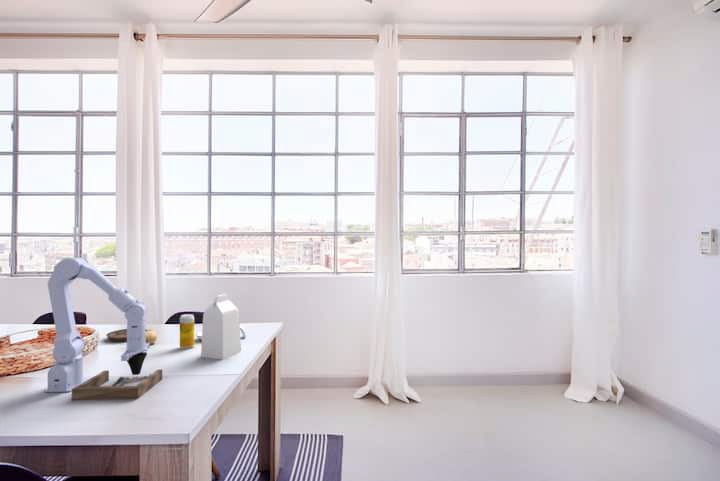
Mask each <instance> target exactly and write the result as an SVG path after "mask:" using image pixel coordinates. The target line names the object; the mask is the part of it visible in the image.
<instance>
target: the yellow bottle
mask: <svg viewBox="0 0 720 481" xmlns="http://www.w3.org/2000/svg"><path fill="white" fill-rule="evenodd" d="M194 346H195V316H194V314H192V313H191V314H190V313H188V314H186V313H185V314H182V315H180V317H179V347H180V349H181V350H187V349H188V350H189V349H192V348H194Z"/></svg>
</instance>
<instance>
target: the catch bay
mask: <svg viewBox="0 0 720 481" xmlns="http://www.w3.org/2000/svg"><path fill="white" fill-rule="evenodd" d="M150 374H151V373H150ZM150 374H149V375H150ZM149 375H148V376H149ZM148 376H147V378H146V379H144V380H143V381H139V383H137V384H136V385H119V386H112V385H109V386H108V385H107V386H106V385H105V386H102V385H104V384H106V383H107V382H108V381H109V380H110V379H109V378H110V372H109V370H103V371H101V372H100V373H98V374H96V375H94V376H93V377H90V378H88V379H89V380H87V381H85V382H83V383H82V384H80V385H78V386H76V387H75V388H73V389H72V390H71V401H89V400H90V401H93V400H94V401H95V400H100V401H101V400H129V399H130V400H134V399H136V400H137V399H140V397H142V396H143V395H144V394H146V393H147V392H148V391H149V390H151V389H152V388H153V387H154V386H156V385H157V384H158V383H159V382H161V381H162V380H163V369H157V370H156V371H154V372H153V373H152V374H151V375H150V376H149V377H148Z"/></svg>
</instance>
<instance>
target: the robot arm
mask: <svg viewBox="0 0 720 481" xmlns="http://www.w3.org/2000/svg"><path fill="white" fill-rule="evenodd" d="M77 279H82V280H89V281H90V282H92V283H93V284H94V285H95V286H96V287H98V288H99V289H101V290H102V291H103V292H105V293H106V294H107V295H108V301H109V302H110V303H111V304H113V305H114V306H115V307H116V308H117V309H119V311H121V312H122V313H124V318H125V319H126V320H127V321H126V323H127V324H126V329H127V341H126V350H125V351H124V353H122V355H121V354H120V361H121V362H127V364H128V366H129V368H130V372H131V374H132V375H133V376H136V375H137V376H138V375H140V374H141V372H142V368H143V364H144V361H145V359H146V357H147V355H148V352H147V351H149V349H150V348H151V344H150V343H145V329H146V316H145V315H146V314H147V313H148V312H147V311H148V308H147V306H146V305H145V303H144V302H142V301H140V300H139V299H136V298H135V297H134V296H133V295H131V293H130V292H131V291H130V290H129V289H128V288H127V289H124V288H122V287H117V286H116V285H114V283H112V282H111V280H109V278H107V277H106V276H105V275H104V274H103V273H102V272H101V270H99V269H98V268H97V267H96V266H95V265H94V264H93V263H91V262H89V260H87V259H86V258H84V257H82V256H77V257H71V258H70V257H69V258H68V257H67V258H64V259H63V258H62V259H61V260H60V261H59V262H58V263H56V264H55V265H54V266H53V271H52V273H51V275H50V277H49V278H48V281H47V288H48V295H49V299H50V305H51V310H52V315H53V320H54V322H53V323H54V326H55V327H54V328H55V332H56V335H55V339H54V340H53V341H54V342H53V346H54V347H53V350H52V358H53V359H54V361H55V363H54V365H53V366H52V367H50V369H49V370H48V372H47V389H46V390H44V392H45V393H60V392H61V393H65V392H67V393H68V392H72V389H73V388H75V387H76V386H78V385H80V384H82V383H83V382H85V381H87V380H89V379H90V378H84V371H83V370H84V365H83V364H84V356H83V354H82V352H83V351H84V350H85V349H86V342H85V340H84V339H83V338H82V336H81V335H82V334H81V332H80V331H79V330H78V329H77V326H76V319H75V314H74V308H73V304H72V299H71V293H70V287H69V286H70V285H71V284H72V283H73V282H74V281H75V280H77Z"/></svg>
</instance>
